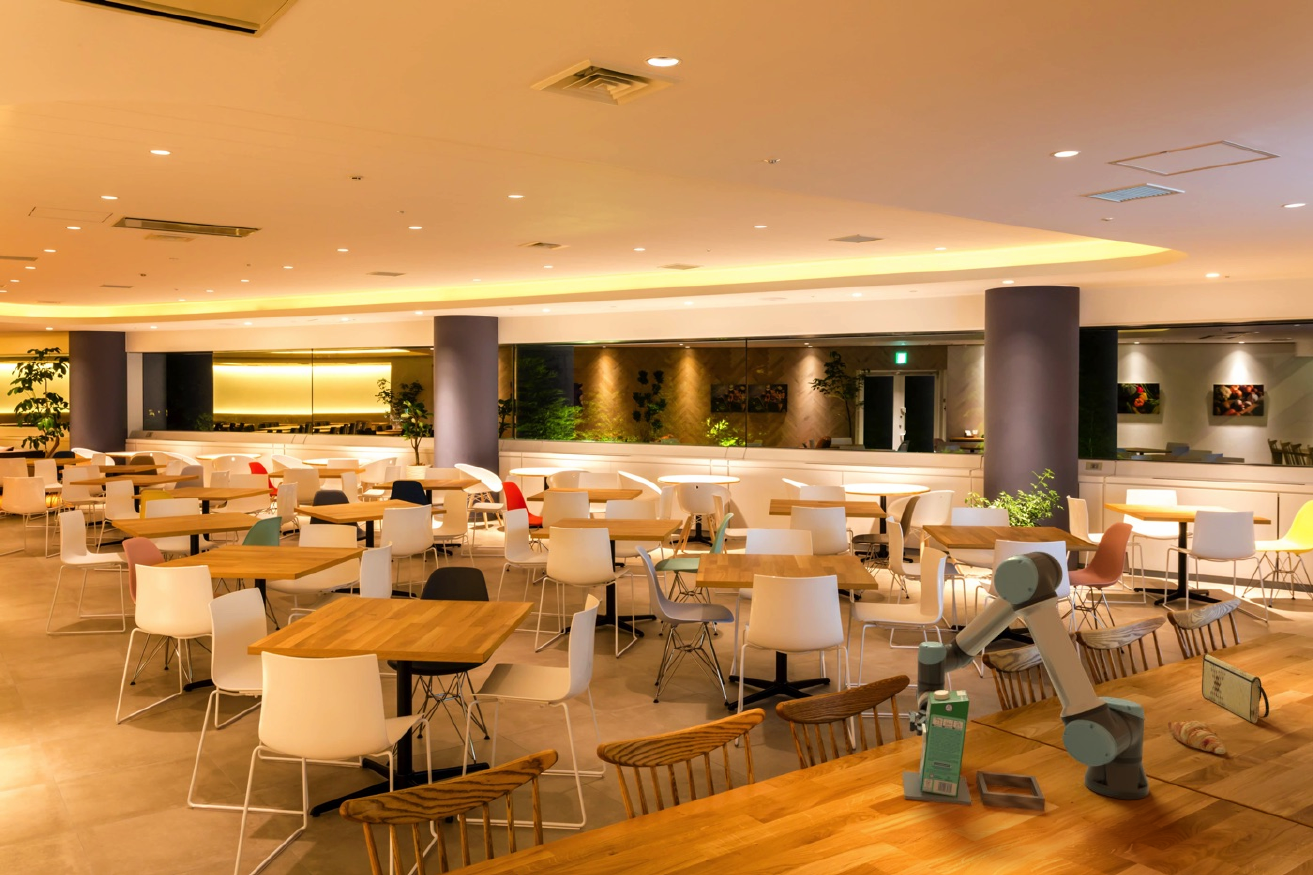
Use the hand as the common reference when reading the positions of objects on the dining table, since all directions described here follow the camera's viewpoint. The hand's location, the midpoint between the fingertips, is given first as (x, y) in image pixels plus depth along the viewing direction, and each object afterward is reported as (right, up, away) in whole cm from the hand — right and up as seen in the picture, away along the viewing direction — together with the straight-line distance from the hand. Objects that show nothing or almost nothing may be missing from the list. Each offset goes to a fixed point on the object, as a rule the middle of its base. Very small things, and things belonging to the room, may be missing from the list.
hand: (938, 738), depth 248 cm
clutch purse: (+117, -13, +72) cm, 138 cm away
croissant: (+87, -14, +41) cm, 97 cm away
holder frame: (+18, -15, +2) cm, 24 cm away
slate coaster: (+1, -15, +6) cm, 16 cm away
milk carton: (+1, -14, +4) cm, 14 cm away
